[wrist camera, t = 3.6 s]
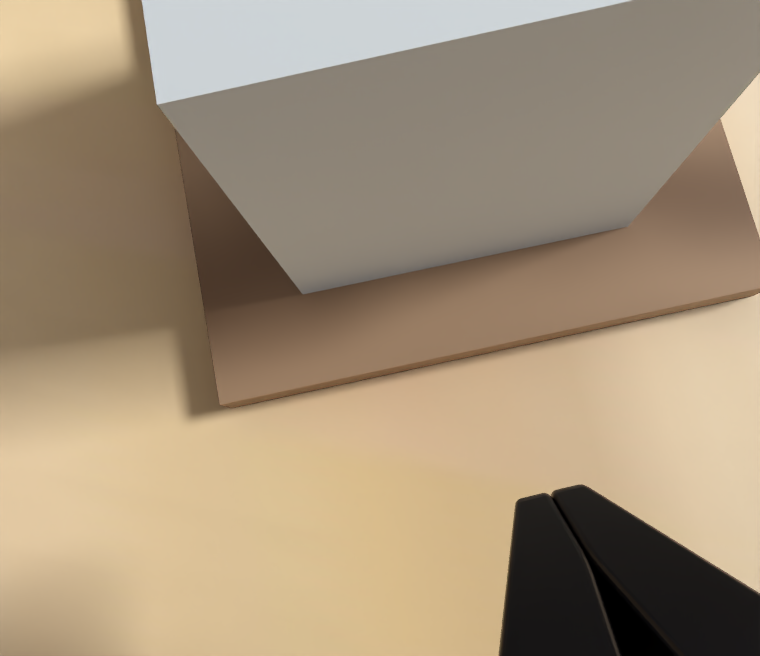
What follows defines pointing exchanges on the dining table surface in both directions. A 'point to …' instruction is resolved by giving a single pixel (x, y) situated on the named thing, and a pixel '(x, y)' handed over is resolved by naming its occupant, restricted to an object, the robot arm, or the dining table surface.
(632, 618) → the robot arm
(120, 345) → the dining table surface
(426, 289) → the podium board
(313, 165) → the carton
